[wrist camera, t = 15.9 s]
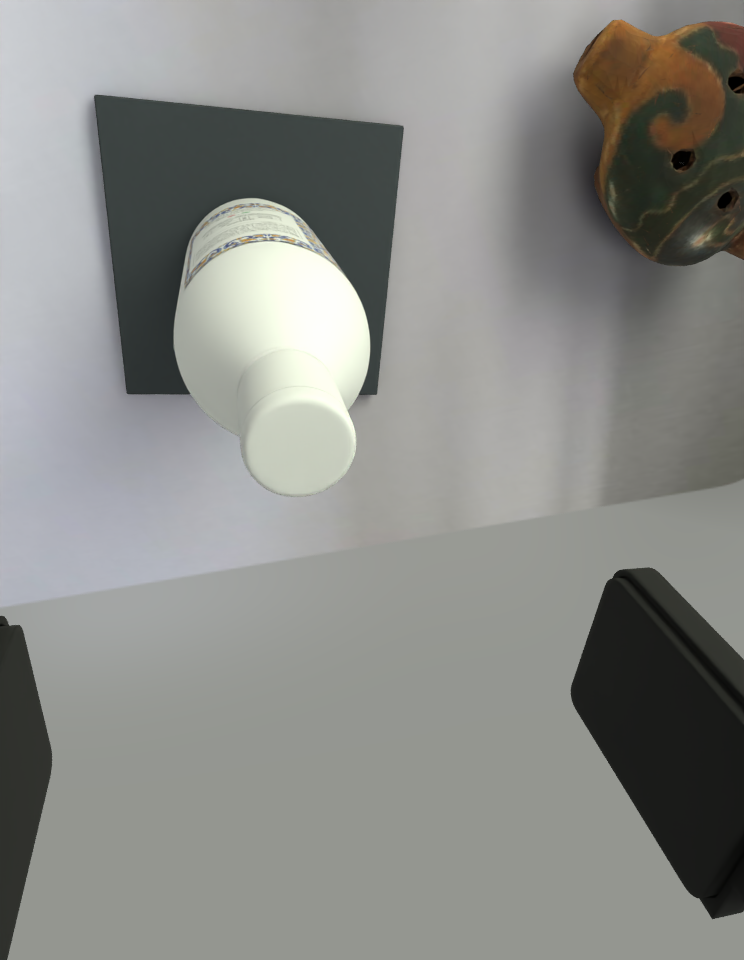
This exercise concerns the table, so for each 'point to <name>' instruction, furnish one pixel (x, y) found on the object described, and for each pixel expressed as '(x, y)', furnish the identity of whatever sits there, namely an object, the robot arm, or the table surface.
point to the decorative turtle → (670, 137)
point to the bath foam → (272, 343)
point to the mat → (227, 177)
